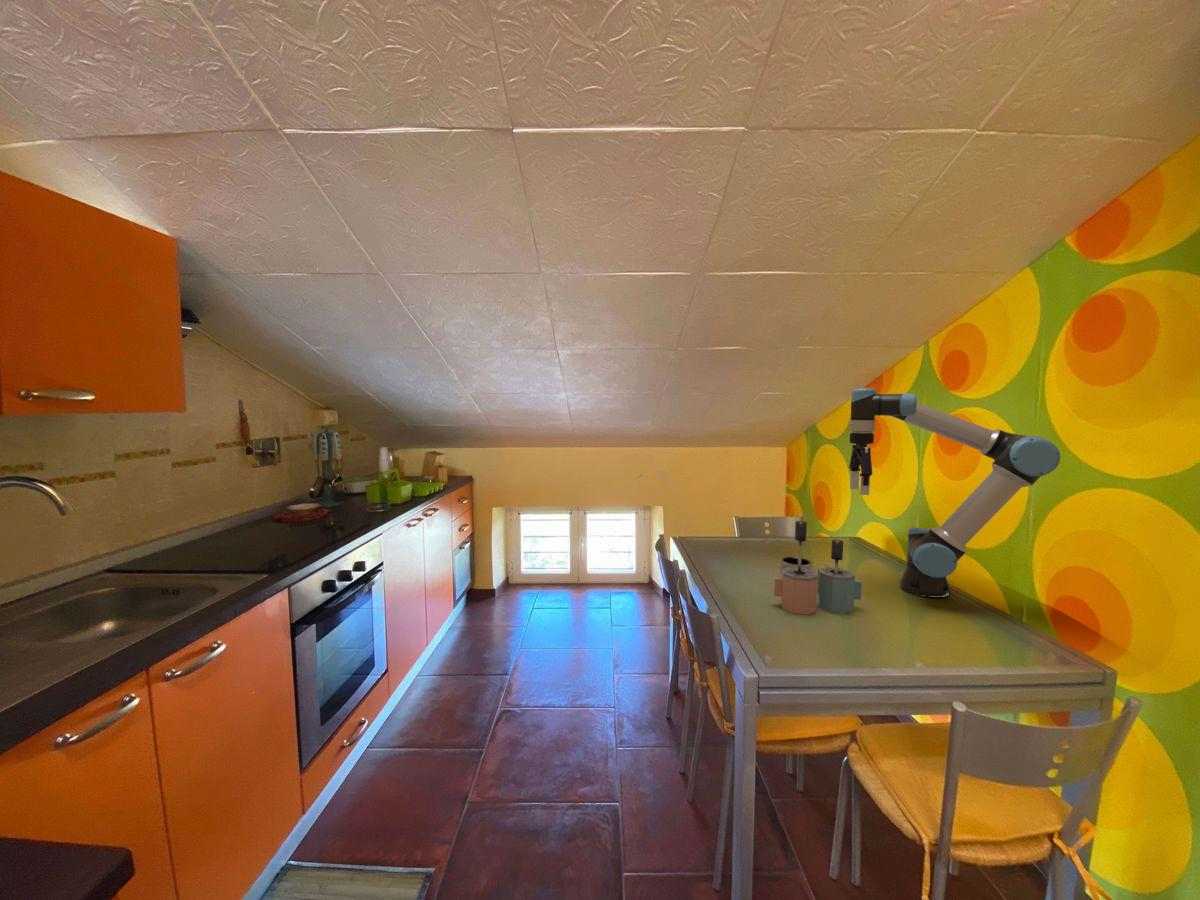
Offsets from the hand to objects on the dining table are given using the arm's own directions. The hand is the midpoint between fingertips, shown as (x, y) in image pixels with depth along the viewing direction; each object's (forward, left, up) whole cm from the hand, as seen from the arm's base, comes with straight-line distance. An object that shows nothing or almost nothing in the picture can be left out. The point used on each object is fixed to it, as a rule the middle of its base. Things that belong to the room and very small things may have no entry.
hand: (859, 491), depth 170 cm
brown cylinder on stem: (+22, +21, -28) cm, 41 cm away
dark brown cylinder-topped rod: (+10, +17, -34) cm, 39 cm away
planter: (+20, -1, -37) cm, 42 cm away
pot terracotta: (+23, +21, -37) cm, 48 cm away
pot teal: (+9, +17, -37) cm, 41 cm away
